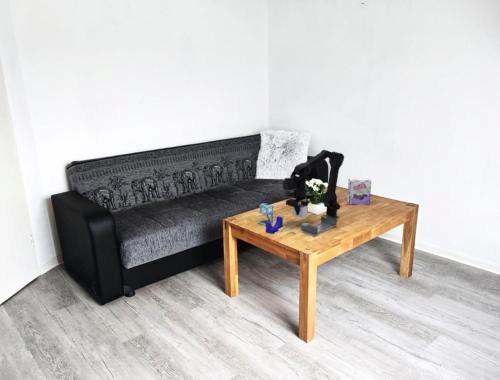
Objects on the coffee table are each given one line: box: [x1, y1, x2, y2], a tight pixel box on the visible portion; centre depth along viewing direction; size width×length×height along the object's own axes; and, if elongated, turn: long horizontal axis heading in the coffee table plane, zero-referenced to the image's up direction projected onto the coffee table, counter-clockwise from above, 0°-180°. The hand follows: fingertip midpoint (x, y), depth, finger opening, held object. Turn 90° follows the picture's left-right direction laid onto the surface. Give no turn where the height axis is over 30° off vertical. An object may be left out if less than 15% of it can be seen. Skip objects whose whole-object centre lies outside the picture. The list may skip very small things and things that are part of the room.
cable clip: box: [265, 215, 284, 235], centre depth 226 cm, size 12×4×6 cm, turn 142°
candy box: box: [346, 178, 372, 205], centre depth 265 cm, size 14×6×16 cm, turn 88°
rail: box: [300, 214, 338, 237], centre depth 225 cm, size 20×9×5 cm, turn 134°
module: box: [291, 203, 309, 219], centre depth 230 cm, size 4×8×6 cm, turn 44°
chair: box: [256, 202, 275, 227], centre depth 235 cm, size 8×8×12 cm
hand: (300, 214), depth 231 cm, fingers closed on module, 4 cm apart
